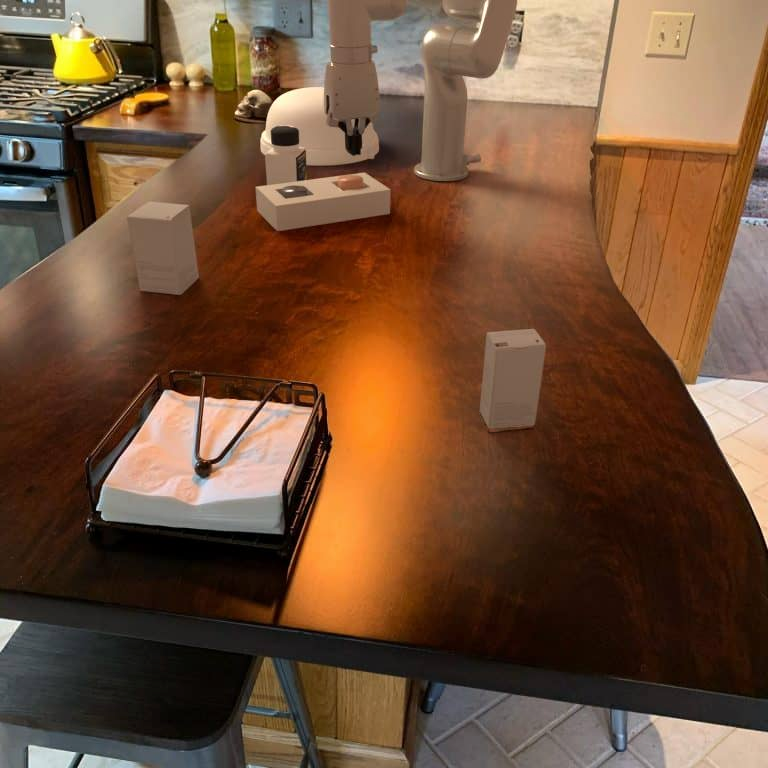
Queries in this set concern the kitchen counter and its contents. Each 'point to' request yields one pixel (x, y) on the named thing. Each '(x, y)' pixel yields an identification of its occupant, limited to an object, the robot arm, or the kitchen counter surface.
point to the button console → (322, 202)
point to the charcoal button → (294, 191)
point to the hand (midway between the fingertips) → (353, 153)
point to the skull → (254, 107)
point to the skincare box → (512, 378)
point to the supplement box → (163, 247)
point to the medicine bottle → (285, 156)
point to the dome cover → (315, 129)
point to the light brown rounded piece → (350, 182)
